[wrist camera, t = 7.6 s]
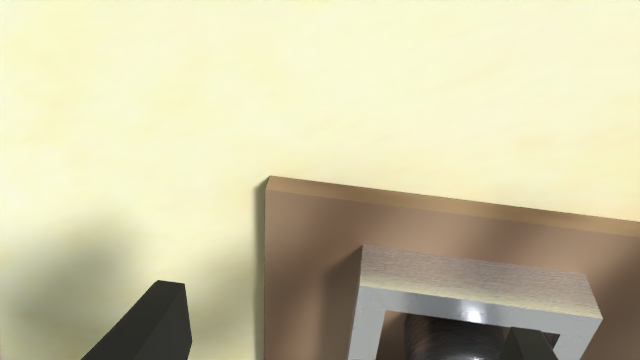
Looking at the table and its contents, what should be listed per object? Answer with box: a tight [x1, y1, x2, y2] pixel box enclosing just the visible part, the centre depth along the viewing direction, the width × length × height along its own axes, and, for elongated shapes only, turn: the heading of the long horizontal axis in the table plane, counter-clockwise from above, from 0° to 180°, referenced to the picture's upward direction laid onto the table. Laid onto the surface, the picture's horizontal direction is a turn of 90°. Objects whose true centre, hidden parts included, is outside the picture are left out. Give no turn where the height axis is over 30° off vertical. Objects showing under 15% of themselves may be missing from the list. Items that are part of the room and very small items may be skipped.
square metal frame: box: [345, 245, 603, 360], centre depth 24 cm, size 9×9×2 cm
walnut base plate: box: [264, 176, 640, 360], centre depth 26 cm, size 18×14×1 cm
